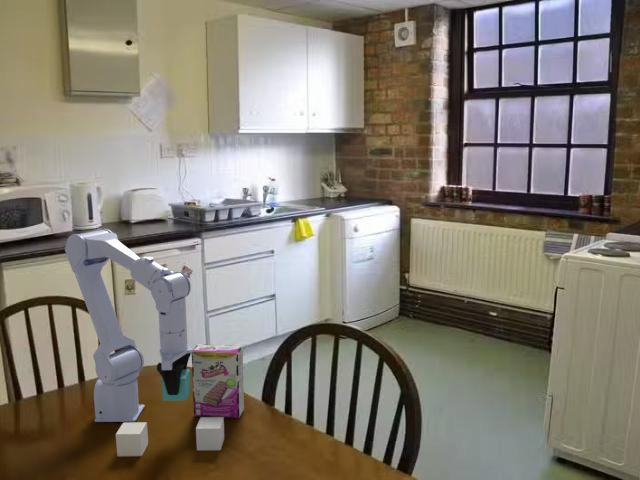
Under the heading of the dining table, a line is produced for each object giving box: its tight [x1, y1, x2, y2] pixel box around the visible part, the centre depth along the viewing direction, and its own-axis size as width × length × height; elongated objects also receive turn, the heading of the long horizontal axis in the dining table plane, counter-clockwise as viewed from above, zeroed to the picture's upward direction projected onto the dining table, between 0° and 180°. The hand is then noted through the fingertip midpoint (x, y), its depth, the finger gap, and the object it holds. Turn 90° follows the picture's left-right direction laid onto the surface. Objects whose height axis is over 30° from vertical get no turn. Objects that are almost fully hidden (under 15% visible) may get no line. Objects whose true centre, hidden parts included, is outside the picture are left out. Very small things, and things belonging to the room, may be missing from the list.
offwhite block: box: [115, 421, 149, 457], centre depth 126 cm, size 5×5×5 cm
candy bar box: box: [191, 343, 245, 419], centre depth 141 cm, size 11×5×16 cm, turn 84°
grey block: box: [195, 417, 225, 451], centre depth 128 cm, size 5×5×5 cm
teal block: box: [161, 368, 192, 402], centre depth 131 cm, size 5×5×5 cm
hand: (176, 388), depth 131 cm, fingers closed on teal block, 5 cm apart
